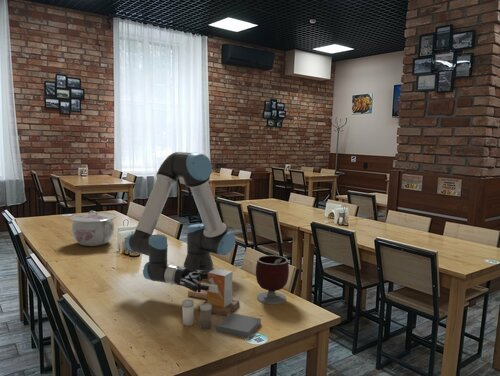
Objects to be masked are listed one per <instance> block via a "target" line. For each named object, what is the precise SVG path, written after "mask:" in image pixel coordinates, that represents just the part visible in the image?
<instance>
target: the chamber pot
mask: <svg viewBox="0 0 500 376" xmlns="http://www.w3.org/2000/svg"><path fill="white" fill-rule="evenodd" d="M117 217H118V216H117V215H116V214H113V213H110V212H97V211H95V210H89V212H84V213H79V214H74V215H72V216H69V218H68V220H69V221H71V222H73V223H72V224H71V233H72V236H73V238H74V240H75V241H76V242H77V243H78V244H79V245H81V246H85V247H99V246H102V245H105V244H108V243H109V242H110V240H111V238H112V237H113V235H114V231H115V223H114V221H113V220H115V219H116V218H117Z"/></svg>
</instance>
